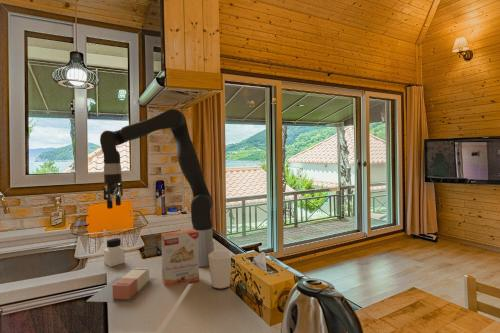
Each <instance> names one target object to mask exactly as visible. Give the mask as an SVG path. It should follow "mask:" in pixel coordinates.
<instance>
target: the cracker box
mask: <svg viewBox="0 0 500 333" xmlns="http://www.w3.org/2000/svg"><path fill="white" fill-rule="evenodd" d="M160 236H161V276H162V277H161V278H162V279H161V281H162V284H163V285H164V287H168V286H173V285H177V284H182V283H186V282H187V283H188V284H194V283H198V282H200V267H199V232H197V231H196V230H195V229H193V228H191V229H185V230H178V231H177V230H175V231H170V232H169V231H168V232H163V233H161V235H160Z"/></svg>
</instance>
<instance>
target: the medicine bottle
mask: <svg viewBox="0 0 500 333" xmlns="http://www.w3.org/2000/svg"><path fill="white" fill-rule="evenodd" d="M121 242H122V240H121V239H120V238H118V237H112V238H111V237H110V238H109V239H107V241H106V248H104V249H103V263H104V264H105V265H106V266H108V267H109V268H111V267H116V266H117V265H118V266H119V265H122V264H125V262H126V261H125V260H126V258H125V248H123V247H122V245H121V244H122V243H121Z"/></svg>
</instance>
